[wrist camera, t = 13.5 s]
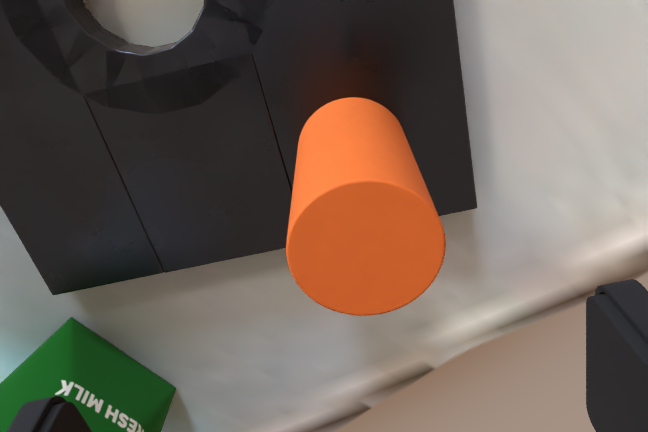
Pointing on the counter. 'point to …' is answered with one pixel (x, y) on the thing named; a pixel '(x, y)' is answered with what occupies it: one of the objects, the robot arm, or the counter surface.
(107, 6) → the counter surface
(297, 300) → the counter surface
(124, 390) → the milk carton
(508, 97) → the counter surface
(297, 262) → the plug
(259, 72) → the sink plate
